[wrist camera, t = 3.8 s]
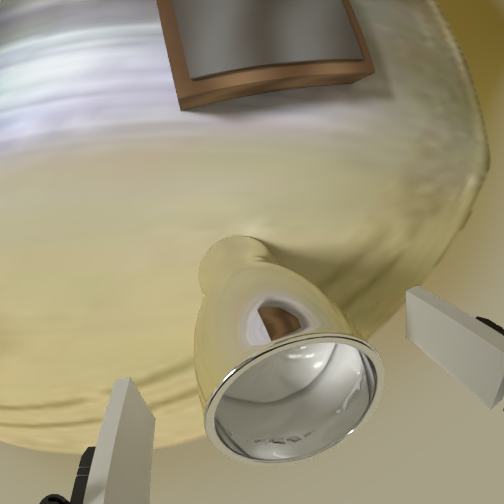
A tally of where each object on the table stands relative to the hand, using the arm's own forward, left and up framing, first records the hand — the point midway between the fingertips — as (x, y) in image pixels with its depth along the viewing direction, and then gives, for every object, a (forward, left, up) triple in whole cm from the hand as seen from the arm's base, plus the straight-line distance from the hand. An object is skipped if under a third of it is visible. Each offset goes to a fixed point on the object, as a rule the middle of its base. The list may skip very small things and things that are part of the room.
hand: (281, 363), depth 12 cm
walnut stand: (+6, +20, -12) cm, 24 cm away
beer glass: (0, 0, -12) cm, 12 cm away
